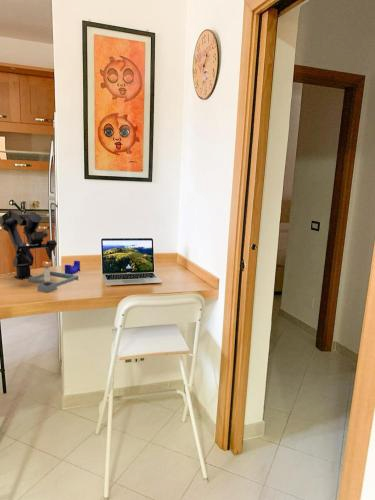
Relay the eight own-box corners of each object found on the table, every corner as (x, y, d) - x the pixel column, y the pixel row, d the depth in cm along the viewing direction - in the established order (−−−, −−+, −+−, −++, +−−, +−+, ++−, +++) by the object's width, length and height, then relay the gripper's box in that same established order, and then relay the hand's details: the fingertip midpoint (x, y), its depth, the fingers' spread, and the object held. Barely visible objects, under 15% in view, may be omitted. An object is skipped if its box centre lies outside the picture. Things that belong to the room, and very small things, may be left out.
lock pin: (41, 290, 176) (40, 262, 174) (47, 288, 180) (46, 260, 177) (47, 291, 175) (47, 263, 172) (53, 289, 179) (53, 261, 176)
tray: (28, 283, 191) (28, 277, 190) (51, 276, 205) (50, 271, 205) (57, 289, 184) (57, 283, 184) (78, 281, 199) (78, 275, 198)
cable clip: (72, 270, 220) (72, 260, 219) (80, 271, 220) (79, 261, 218) (62, 275, 209) (62, 264, 208) (69, 276, 208) (69, 265, 207)
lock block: (37, 293, 176) (37, 284, 175) (46, 290, 182) (46, 281, 181) (48, 295, 174) (47, 286, 173) (56, 292, 180) (56, 283, 179)
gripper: (15, 226, 176) (25, 253, 170) (54, 224, 188) (64, 249, 182) (11, 240, 183) (20, 266, 177) (48, 237, 195) (58, 262, 189)
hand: (41, 260), depth 181 cm, fingers open, 9 cm apart
